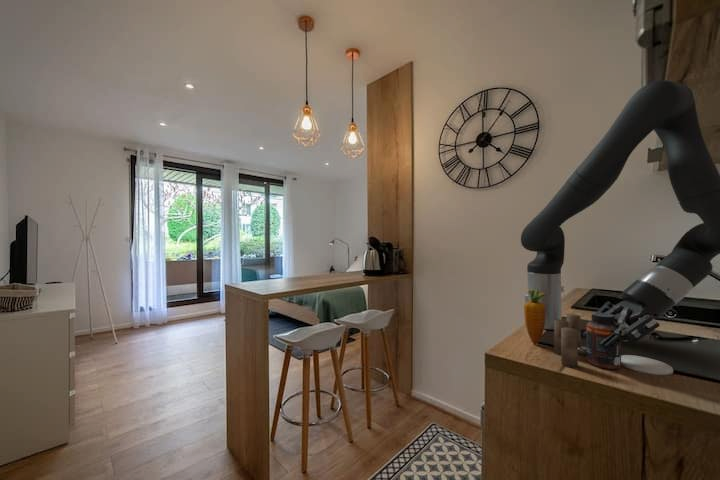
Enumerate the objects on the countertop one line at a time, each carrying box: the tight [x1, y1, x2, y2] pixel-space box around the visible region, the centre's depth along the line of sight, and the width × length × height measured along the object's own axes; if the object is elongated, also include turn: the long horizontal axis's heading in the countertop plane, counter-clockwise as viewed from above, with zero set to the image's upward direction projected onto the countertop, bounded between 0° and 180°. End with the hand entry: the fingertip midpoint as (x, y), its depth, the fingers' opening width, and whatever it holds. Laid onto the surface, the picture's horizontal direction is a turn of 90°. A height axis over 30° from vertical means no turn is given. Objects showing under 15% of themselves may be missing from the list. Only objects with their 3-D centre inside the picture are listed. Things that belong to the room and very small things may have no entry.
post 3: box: [560, 327, 579, 369], centre depth 66 cm, size 3×3×8 cm
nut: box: [578, 346, 587, 356], centre depth 73 cm, size 4×4×1 cm
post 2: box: [565, 313, 582, 346], centre depth 78 cm, size 3×3×8 cm
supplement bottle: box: [585, 311, 622, 370], centre depth 66 cm, size 6×6×11 cm
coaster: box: [621, 354, 674, 376], centre depth 65 cm, size 9×9×1 cm
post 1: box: [553, 319, 569, 356], centre depth 73 cm, size 3×3×8 cm
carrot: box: [523, 289, 545, 345], centre depth 79 cm, size 5×5×15 cm
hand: (594, 342), depth 66 cm, fingers closed on supplement bottle, 6 cm apart
